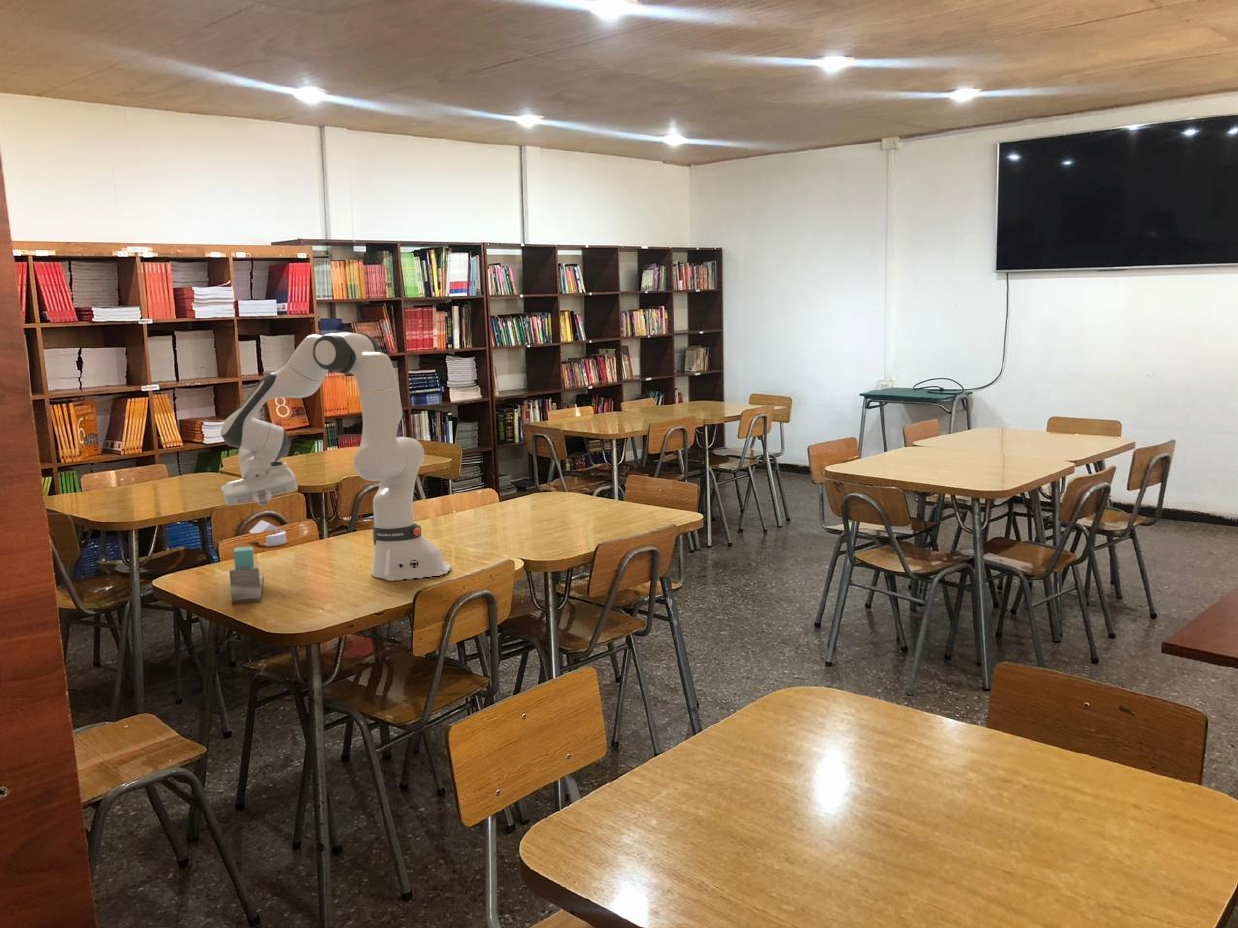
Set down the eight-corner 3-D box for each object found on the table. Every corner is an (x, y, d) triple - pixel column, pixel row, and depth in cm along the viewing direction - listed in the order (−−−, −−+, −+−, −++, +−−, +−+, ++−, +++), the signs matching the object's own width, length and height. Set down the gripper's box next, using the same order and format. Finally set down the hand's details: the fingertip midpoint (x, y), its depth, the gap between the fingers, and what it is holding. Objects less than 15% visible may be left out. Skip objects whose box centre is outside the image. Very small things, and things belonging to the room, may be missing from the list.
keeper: (238, 591, 252) (234, 547, 250) (256, 589, 253) (252, 546, 252) (237, 596, 248) (233, 551, 246) (255, 594, 249) (252, 549, 247)
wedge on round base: (249, 541, 320) (263, 547, 310) (247, 522, 319) (262, 527, 309) (275, 537, 326) (290, 543, 316) (274, 518, 325) (289, 523, 315)
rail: (237, 580, 269) (235, 549, 268) (263, 577, 272) (261, 547, 270) (232, 604, 245) (229, 571, 244) (260, 601, 247) (258, 568, 246)
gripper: (218, 476, 273) (222, 502, 262) (290, 460, 280) (297, 485, 269) (223, 493, 276) (227, 520, 266) (294, 477, 283) (302, 502, 273)
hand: (263, 502), depth 268 cm, fingers closed
